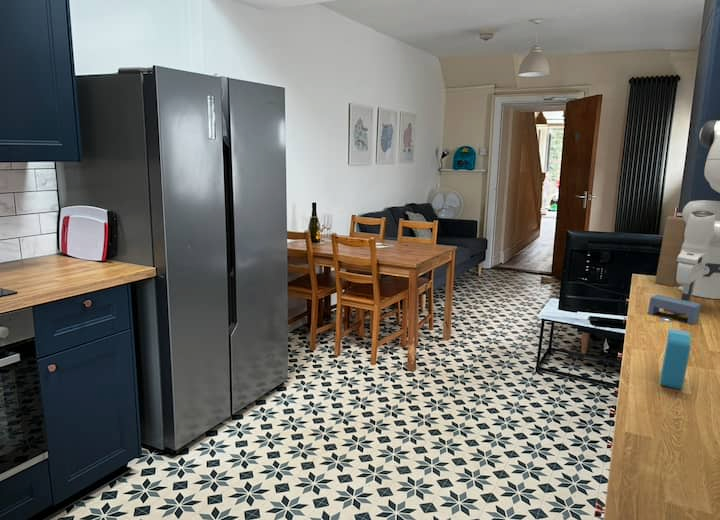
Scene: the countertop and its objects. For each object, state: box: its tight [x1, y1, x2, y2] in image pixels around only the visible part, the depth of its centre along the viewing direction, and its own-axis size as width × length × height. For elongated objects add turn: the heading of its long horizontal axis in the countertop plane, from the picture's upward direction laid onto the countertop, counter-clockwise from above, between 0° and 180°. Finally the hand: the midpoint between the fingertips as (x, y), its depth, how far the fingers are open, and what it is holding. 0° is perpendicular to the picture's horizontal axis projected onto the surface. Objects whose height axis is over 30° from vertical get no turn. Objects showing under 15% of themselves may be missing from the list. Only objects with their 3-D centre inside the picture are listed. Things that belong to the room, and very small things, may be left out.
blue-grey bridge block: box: [647, 294, 702, 325], centre depth 183 cm, size 7×14×6 cm, turn 43°
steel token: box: [659, 316, 674, 323], centre depth 180 cm, size 4×4×1 cm
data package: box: [660, 328, 692, 390], centre depth 129 cm, size 12×4×12 cm, turn 149°
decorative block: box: [654, 215, 686, 287], centre depth 234 cm, size 8×15×30 cm, turn 144°
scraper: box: [663, 281, 695, 317], centre depth 188 cm, size 12×7×13 cm, turn 133°
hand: (687, 292), depth 192 cm, fingers closed on scraper, 3 cm apart
